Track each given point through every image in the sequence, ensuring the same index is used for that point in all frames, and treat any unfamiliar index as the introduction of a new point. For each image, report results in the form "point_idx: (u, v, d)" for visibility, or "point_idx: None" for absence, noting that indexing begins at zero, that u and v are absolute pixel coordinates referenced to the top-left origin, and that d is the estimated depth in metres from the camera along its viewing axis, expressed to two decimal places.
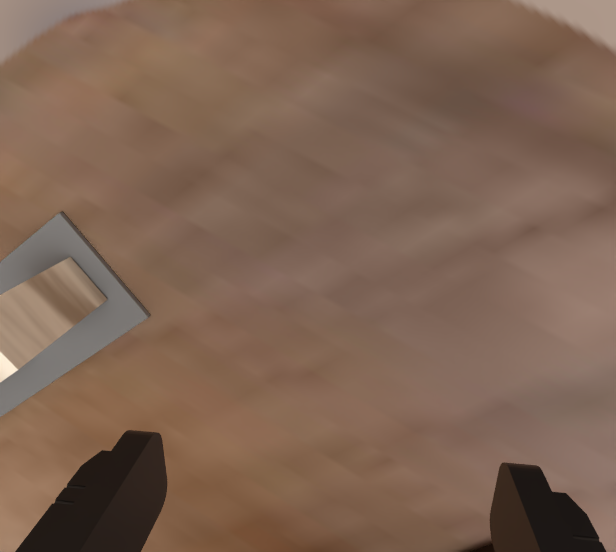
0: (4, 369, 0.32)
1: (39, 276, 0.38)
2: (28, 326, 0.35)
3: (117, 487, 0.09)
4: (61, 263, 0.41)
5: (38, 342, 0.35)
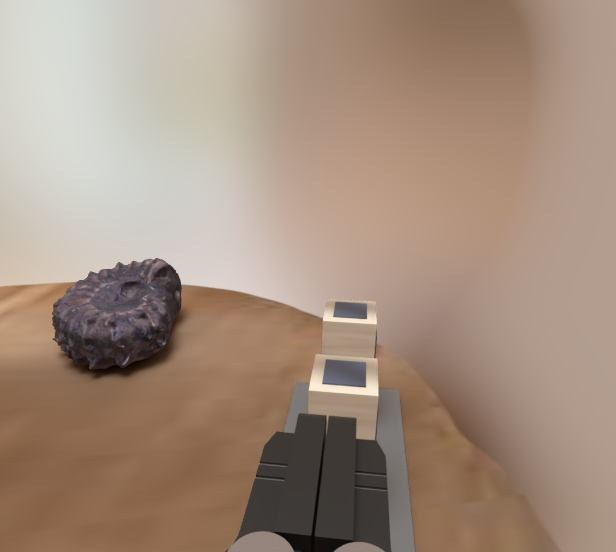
0: None
1: None
2: None
3: (317, 463, 0.10)
4: None
5: None
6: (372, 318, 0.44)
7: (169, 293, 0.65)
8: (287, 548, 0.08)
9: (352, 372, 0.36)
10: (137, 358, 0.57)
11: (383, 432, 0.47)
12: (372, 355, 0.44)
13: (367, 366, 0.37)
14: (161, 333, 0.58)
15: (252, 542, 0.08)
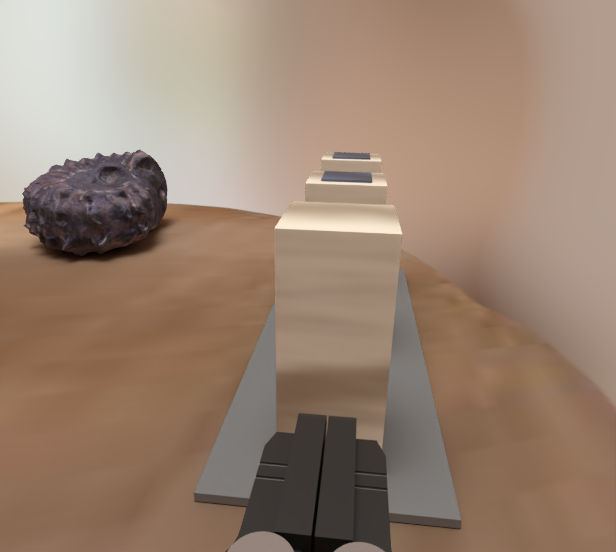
0: (292, 223, 0.19)
1: (382, 395, 0.21)
2: (322, 304, 0.19)
3: (318, 463, 0.10)
4: None
5: (290, 295, 0.19)
6: (376, 159, 0.39)
7: (153, 188, 0.60)
8: (287, 548, 0.08)
9: (355, 175, 0.31)
10: (116, 242, 0.52)
11: None
12: None
13: (373, 175, 0.32)
14: (143, 217, 0.53)
15: (252, 542, 0.08)
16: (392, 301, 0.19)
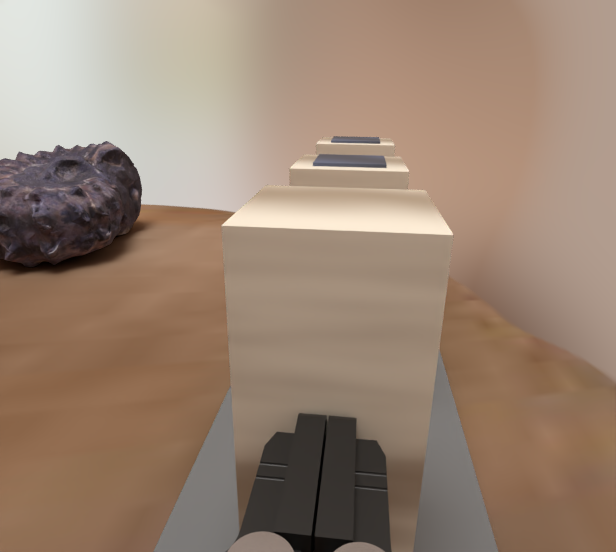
0: (255, 216, 0.11)
1: (411, 503, 0.12)
2: (310, 358, 0.11)
3: (317, 463, 0.10)
4: None
5: (254, 340, 0.11)
6: (388, 143, 0.30)
7: (123, 186, 0.51)
8: (287, 548, 0.08)
9: (362, 159, 0.22)
10: (72, 250, 0.43)
11: None
12: None
13: (386, 159, 0.23)
14: (105, 219, 0.44)
15: (252, 542, 0.08)
16: (432, 353, 0.11)
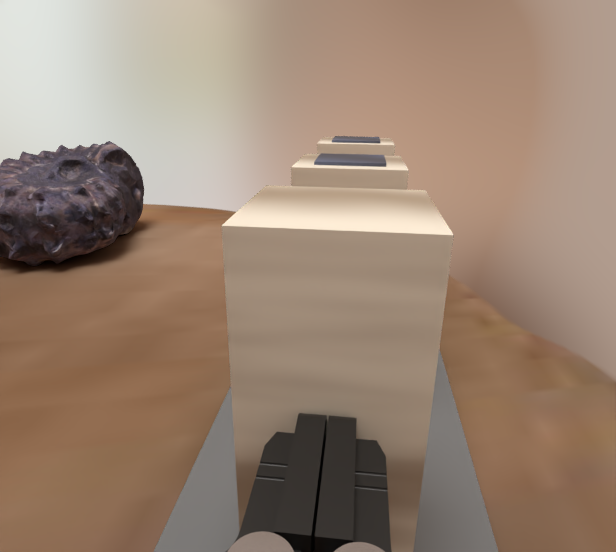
0: (256, 216, 0.11)
1: (411, 503, 0.12)
2: (310, 357, 0.11)
3: (318, 463, 0.10)
4: None
5: (254, 340, 0.11)
6: (388, 143, 0.31)
7: (125, 185, 0.52)
8: (287, 548, 0.08)
9: (362, 158, 0.22)
10: (75, 249, 0.43)
11: None
12: None
13: (386, 158, 0.23)
14: (108, 219, 0.44)
15: (252, 542, 0.08)
16: (432, 353, 0.11)
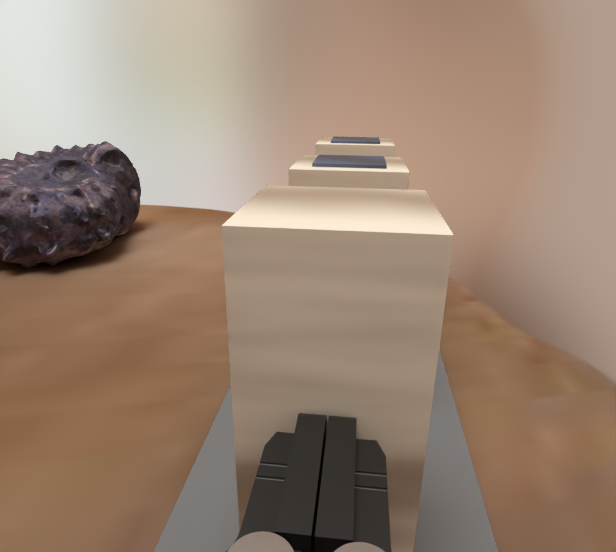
0: (255, 216, 0.11)
1: (411, 503, 0.12)
2: (310, 358, 0.11)
3: (317, 463, 0.10)
4: None
5: (254, 340, 0.11)
6: (388, 143, 0.30)
7: (122, 186, 0.51)
8: (287, 548, 0.08)
9: (362, 159, 0.21)
10: (70, 251, 0.43)
11: None
12: None
13: (386, 160, 0.23)
14: (103, 220, 0.44)
15: (252, 542, 0.08)
16: (432, 353, 0.11)
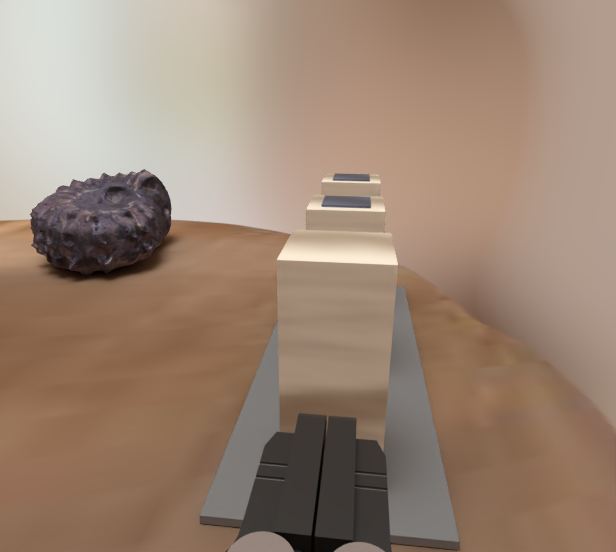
0: (293, 253, 0.20)
1: (381, 417, 0.22)
2: (323, 331, 0.20)
3: (317, 463, 0.10)
4: None
5: (292, 322, 0.20)
6: (375, 181, 0.40)
7: (157, 206, 0.61)
8: (287, 548, 0.08)
9: (355, 200, 0.32)
10: (121, 261, 0.53)
11: None
12: None
13: (371, 199, 0.33)
14: (148, 236, 0.54)
15: (252, 542, 0.08)
16: (389, 327, 0.20)
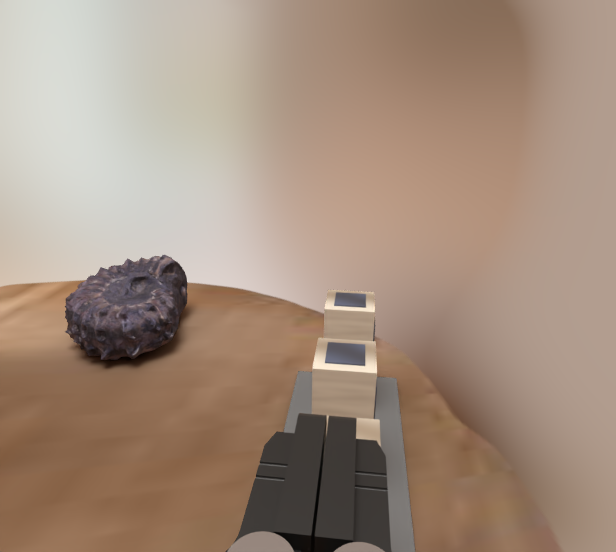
0: None
1: None
2: None
3: (317, 463, 0.10)
4: None
5: None
6: (371, 307, 0.47)
7: (176, 288, 0.68)
8: (287, 548, 0.08)
9: (352, 353, 0.38)
10: (146, 349, 0.60)
11: (381, 415, 0.50)
12: None
13: (366, 348, 0.39)
14: (169, 325, 0.61)
15: (252, 542, 0.08)
16: None
